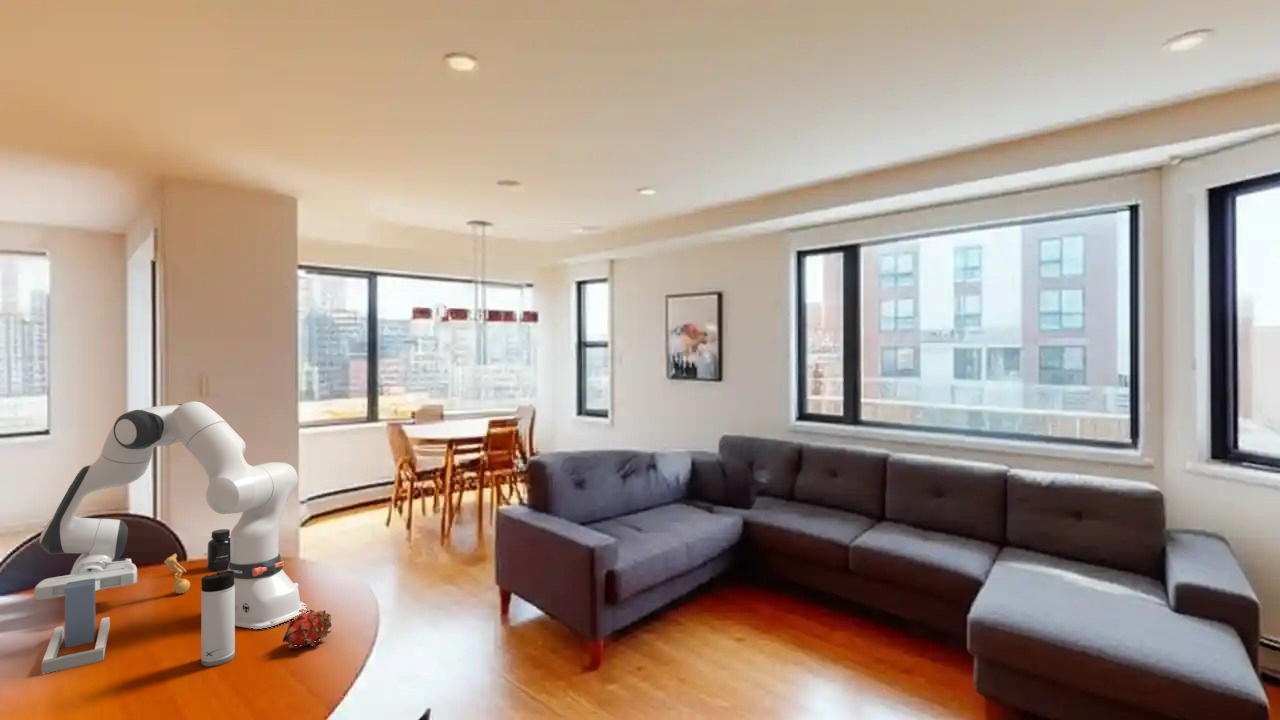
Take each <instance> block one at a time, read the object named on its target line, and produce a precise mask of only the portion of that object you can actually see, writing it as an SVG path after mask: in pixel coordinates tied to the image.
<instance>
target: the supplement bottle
mask: <svg viewBox="0 0 1280 720" xmlns="http://www.w3.org/2000/svg"><path fill="white" fill-rule="evenodd" d="M230 535H231V532H230V529H227V528H224V529H223V528H222V529H217V530H213V531H211V536H210V537H211V539H210V540H209V541H208V543H207V553H206V554H207V557H206V558H207V563H206V564H207V566H206V567H207V570H208V571H210V572H222V571H226V570H228V565H229V561H230ZM225 569H226V570H225ZM221 570H222V571H221Z"/></svg>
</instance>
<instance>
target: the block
mask: <svg viewBox="0 0 1280 720" xmlns="http://www.w3.org/2000/svg"><path fill="white" fill-rule="evenodd" d="M95 637H96V592H95V578H92V579H86V580H80V581H74V582H68V583H67V585H66V588H65V596H64V646H65V647H64V648H65V649H67V648H66V647H69V648H73V647H76V646H75V645H78V646H82V645H81V644H83V645H87V644H90V643H91V644H92V643H94V642H95ZM86 643H87V644H86ZM72 646H73V647H72Z"/></svg>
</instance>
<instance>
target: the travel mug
mask: <svg viewBox="0 0 1280 720" xmlns="http://www.w3.org/2000/svg"><path fill="white" fill-rule="evenodd" d="M234 586H235V584H234V571H228V570H223V571H217V572H216V573H215V574H211V575H208V574H207V575H204V576H203V577H201V589H200V590H201V591H200V592H201V594H200V595H201V596H200V597H201V598H200V599H201V601H200V603H201V607H200V608H201V609H200V611H201V612H200V613H201V615H200V617H201V622H200V623H201V628H200V629H201V630H200V633H201V635H200V636H201V637H200V639H201V640H200V643H201V645H200V646H201V650H200V653H201V654H200V655H201V656H200V657H201V660H200V661H201V663H200V664H201V665H202V666H204V667H216V666H221V665H224V664H226V663H229V662H230V661H232V660H233V659H234V658H235V655H236V652H235V651H236V650H235V647H236V637H235V635H236V634H235V633H236V628H235V627H236V626H235V587H234Z"/></svg>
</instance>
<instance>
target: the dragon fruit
mask: <svg viewBox="0 0 1280 720" xmlns="http://www.w3.org/2000/svg"><path fill="white" fill-rule="evenodd" d="M331 616H332V614H329V613H326V610H319V611H315V610H313V609H311V608H310V610H309V612H307V613H303V614H300V615H298V617H297V618H296V619H294V620H292V621H289V622H288V626H287V630H286V631H285V634H284V636H283V638H282V643H283V644H285V643H288V646H287V648H288V649H290V648H293V649H299V648H298V647H300V645H304V646H307V645H309V646H310V645H311V646H312V645H314V646H315V645H316V644H318V643H319V642H320V641H319V639H320V638H321V639H323V638H326V637H327V636H328V634H331V633H332V630H329V629H330V628H331V627H332V623H331V621H332V617H331ZM314 641H316V642H314ZM318 641H319V642H318ZM294 645H297V646H294ZM311 646H310V647H311Z"/></svg>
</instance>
